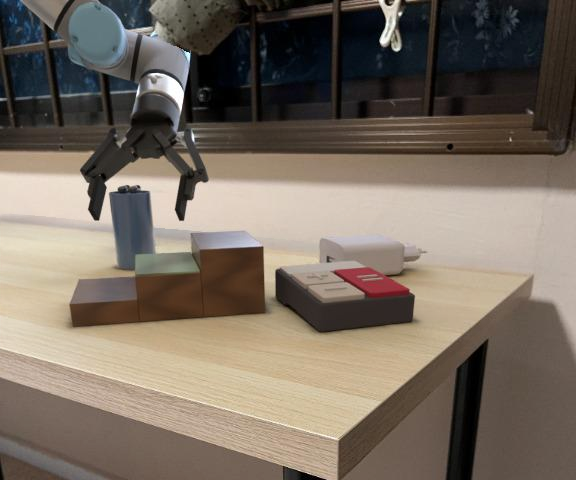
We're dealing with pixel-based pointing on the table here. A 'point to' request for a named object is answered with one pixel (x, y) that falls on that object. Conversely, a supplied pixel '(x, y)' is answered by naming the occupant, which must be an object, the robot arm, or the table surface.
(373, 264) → the charger
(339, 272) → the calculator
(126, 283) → the step shelf
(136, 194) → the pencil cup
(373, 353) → the table surface
